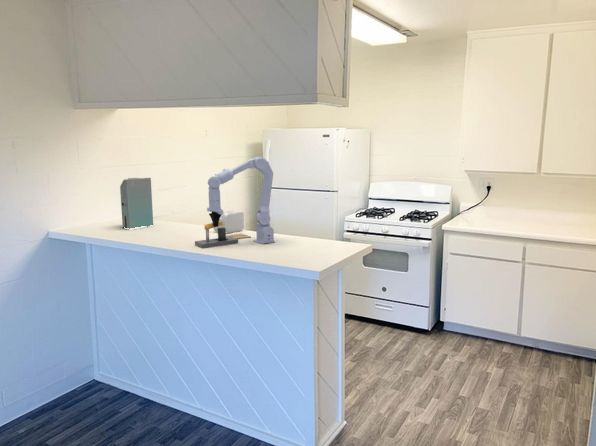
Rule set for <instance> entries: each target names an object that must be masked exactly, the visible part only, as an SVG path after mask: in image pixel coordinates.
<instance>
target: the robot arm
mask: <svg viewBox="0 0 596 446" xmlns="http://www.w3.org/2000/svg"><path fill="white" fill-rule="evenodd" d="M247 169H256V170H258V171H259V172H260V174H261V175H262V177H263V179H262V186H261V195H260V200H259V201H260V202H259V207H258V210H257V213H256V215H255V220H256V221H257V223H256V226H255V228H256V230H255V231H256V239H253V242H255V243H259V244H271V243H275V242H276V241H275V240H274V239H275V237H274V236H275V235H274V233H275V232H274V228H273V227H272V226H271V216H270V212H271V211H270V202H271V195H272V187H273V179H274V171H273V169H272V167H271V165H270V163H269V161H268V160H267V159H266V158H265V157H263V156H258V155H257V156H255V157H254V158H250V159H248V160H246V161H244V162H242V163H240V164H238V165H237V166H235V167H233V168H232V169H231V168H224V169H222V171H220V172H219V173H215V174H214V176H213V175H212V176H210V177H209V178H208V179H207V185H208V207H206V212H209V213H208V215H209V217H210V219H211V223H213V226H214V227H218V223H219V219H220V216H221V215H222V214H223V211H224V209H223V208H221V206H222V205H221V191H220V186H221V185H224V184H225V183H228V182H229V181H231V180H233V179H234V176H235V175H237V174H240V173H241V172H244V171H245V170H247Z"/></svg>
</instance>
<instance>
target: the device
mask: <svg viewBox="0 0 596 446" xmlns="http://www.w3.org/2000/svg"><path fill="white" fill-rule="evenodd" d="M119 189H120V192H119V193H120V204H121V205H120V207H121V220H122V228H123V227H125V228H129V229H130V228H135V227H141V226H150V225H153V226H154V215H153V214H154V213H153V212H154V211H153V194H152V191H153V190H152V178H151V177H128V178H126V179H123V180H122V182H121V184H120V185H119Z"/></svg>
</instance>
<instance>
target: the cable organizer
mask: <svg viewBox="0 0 596 446" xmlns="http://www.w3.org/2000/svg"><path fill="white" fill-rule="evenodd" d="M244 217H245V215H244V212H243V211H241V210H239V211H233V210H230V209H229V210H223V214H222V215H221V216H220V219H219V221H222V226H218V227H215V228H213V231H214V232H218V228H226V234H233V233H234V232H236V233H240V232H242V231H243V229H244V227H245V224H244V223H245V219H244Z"/></svg>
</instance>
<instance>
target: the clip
mask: <svg viewBox="0 0 596 446" xmlns="http://www.w3.org/2000/svg"><path fill="white" fill-rule="evenodd" d="M218 226H222V221H219V223H218ZM214 228H215V227H214V226H213V222H210V223H207V224H204V230H206V229H209V230H210V229H214Z"/></svg>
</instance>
